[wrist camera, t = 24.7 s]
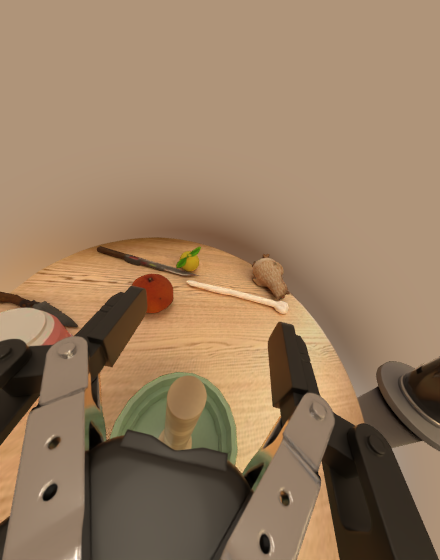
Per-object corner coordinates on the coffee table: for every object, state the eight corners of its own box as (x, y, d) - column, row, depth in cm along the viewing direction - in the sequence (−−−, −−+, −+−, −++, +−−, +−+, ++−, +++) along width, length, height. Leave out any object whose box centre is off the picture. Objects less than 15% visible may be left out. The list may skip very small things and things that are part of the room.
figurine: (252, 274, 63) (273, 310, 54) (239, 261, 56) (261, 300, 47) (275, 258, 61) (301, 294, 51) (265, 243, 53) (293, 280, 44)
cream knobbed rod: (182, 291, 47) (183, 283, 45) (187, 281, 50) (188, 273, 48) (287, 317, 48) (292, 311, 46) (285, 306, 51) (289, 299, 49)
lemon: (201, 255, 57) (200, 242, 47) (201, 274, 56) (200, 263, 46) (180, 255, 57) (174, 242, 47) (179, 274, 55) (173, 263, 46)
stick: (196, 432, 26) (224, 377, 14) (181, 476, 22) (204, 448, 11) (167, 419, 26) (174, 356, 15) (149, 460, 23) (140, 418, 11)
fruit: (135, 325, 37) (131, 297, 32) (129, 295, 43) (125, 267, 38) (177, 315, 41) (180, 289, 36) (167, 288, 47) (168, 263, 42)
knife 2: (200, 277, 53) (102, 248, 54) (201, 272, 52) (101, 243, 52) (197, 283, 51) (95, 253, 51) (198, 279, 50) (94, 248, 50)
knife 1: (-15, 294, 33) (19, 279, 36) (-7, 302, 35) (25, 286, 38) (47, 342, 30) (77, 320, 33) (52, 348, 31) (81, 327, 35)
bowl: (236, 408, 29) (246, 396, 26) (205, 568, 18) (215, 582, 15) (156, 373, 31) (156, 357, 28) (81, 500, 20) (65, 500, 16)
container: (50, 354, 22) (73, 381, 27) (64, 294, 29) (80, 324, 34) (-87, 387, 18) (-30, 411, 23) (-33, 308, 25) (2, 340, 30)
